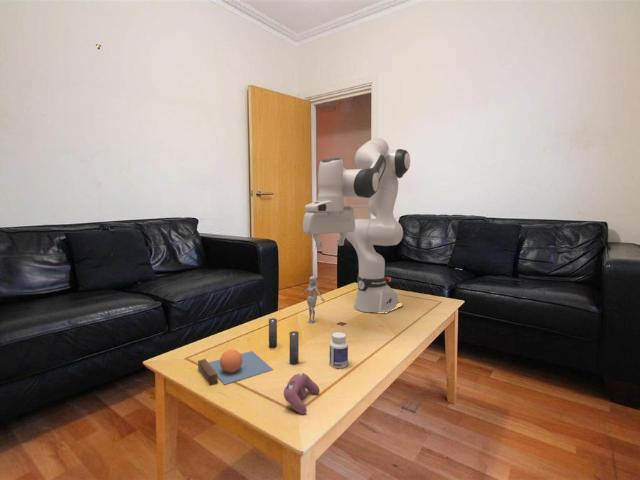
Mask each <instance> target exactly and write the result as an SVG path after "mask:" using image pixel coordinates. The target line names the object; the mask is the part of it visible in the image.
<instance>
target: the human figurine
mask: <svg viewBox="0 0 640 480" xmlns="http://www.w3.org/2000/svg"><path fill="white" fill-rule="evenodd" d="M308 279H309V285H308V286H307V287H306V288H307V289H305V290H304V291H303V292H302V293H301V295H300V296H303V295H304V294H305V293H307V292H308V293H309V294H308V296H307V299H306V301H307V302H306V303H307V305H308V312H309V313H308V314H309V315H308V316H309V320H308V321H307V322H306V323H308V324H310V325H311V324H314V323H315V314H316V312H315V311H316V310H315V308H316V304H317V300H318V298H317V297H318V296H319V297H320V300H321V301H322V302H325V301H326V300H325V299H324V298H323V297H322V294H321V293H320V292H319V290H318V287H317V277H316V276H314V275H312V276H310V277H309V278H308ZM314 292H317V295H318V296H317V295H315V294H314Z"/></svg>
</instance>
